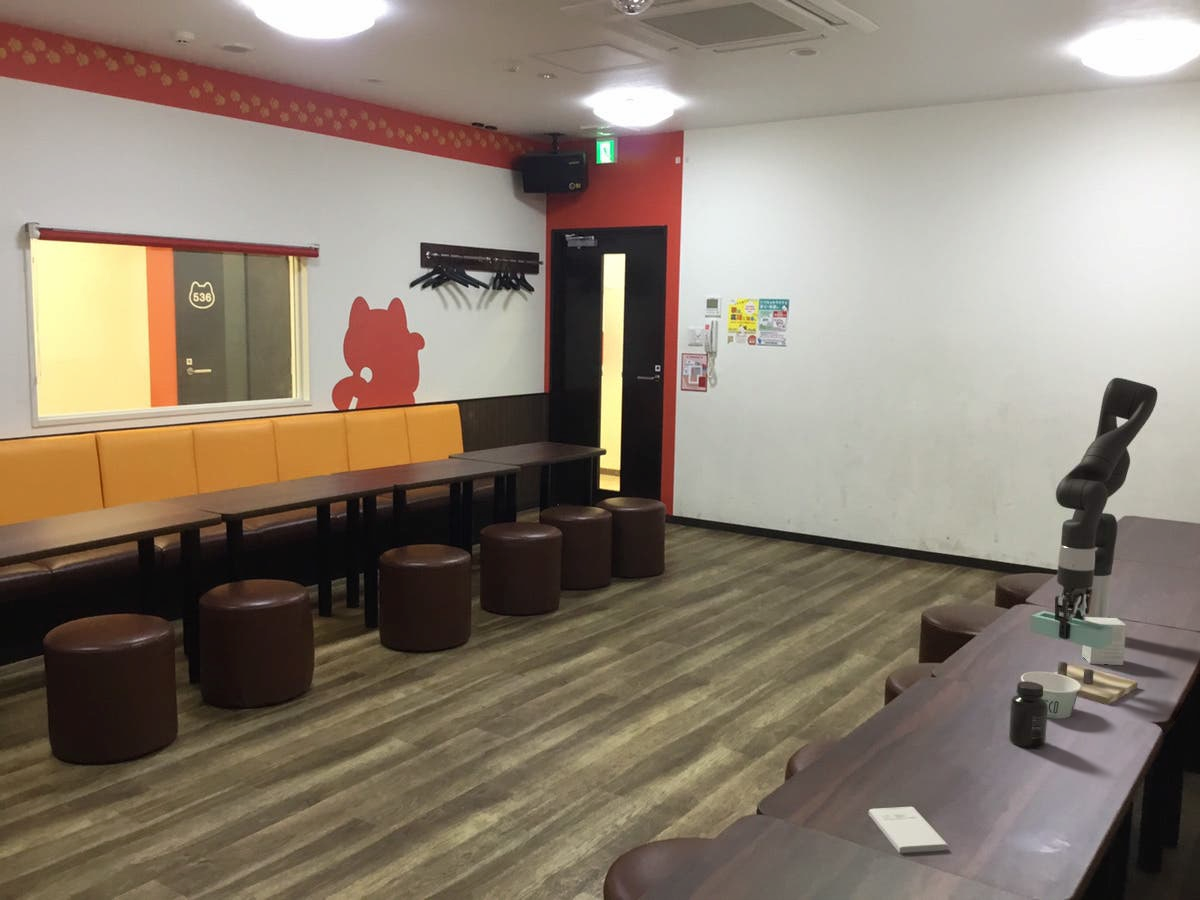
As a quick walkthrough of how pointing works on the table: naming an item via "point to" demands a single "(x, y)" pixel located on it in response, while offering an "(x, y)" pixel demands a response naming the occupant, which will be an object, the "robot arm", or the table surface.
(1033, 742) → the supplement bottle
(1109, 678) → the peg board
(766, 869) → the table surface
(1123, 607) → the table surface
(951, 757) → the table surface
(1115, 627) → the small box
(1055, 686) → the food container
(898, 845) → the external hard drive
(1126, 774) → the table surface
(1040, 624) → the teal rectangular frame
